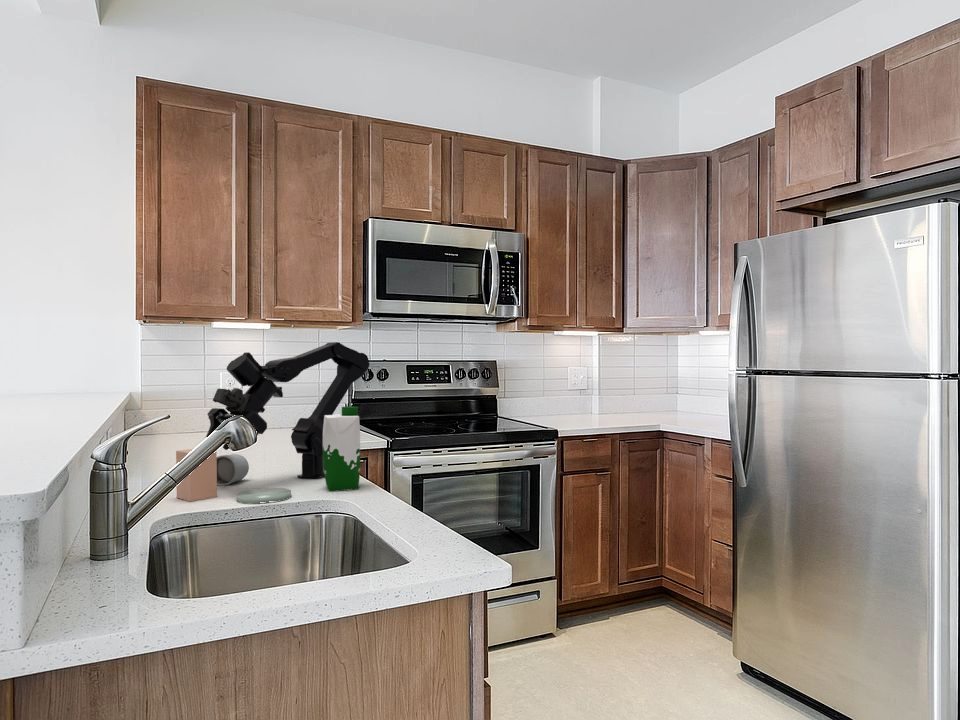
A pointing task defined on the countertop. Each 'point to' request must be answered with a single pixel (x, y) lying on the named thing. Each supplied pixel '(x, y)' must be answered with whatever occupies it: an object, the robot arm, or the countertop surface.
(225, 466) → the ceramic mug
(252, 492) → the dish
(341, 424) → the milk carton
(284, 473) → the countertop surface
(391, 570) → the countertop surface
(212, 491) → the pinkish brown brick
